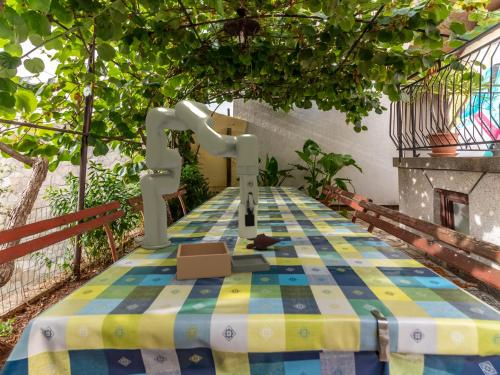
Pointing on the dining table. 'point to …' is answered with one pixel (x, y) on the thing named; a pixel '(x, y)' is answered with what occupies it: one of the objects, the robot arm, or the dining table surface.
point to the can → (242, 229)
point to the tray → (249, 263)
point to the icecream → (262, 242)
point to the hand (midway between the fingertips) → (248, 224)
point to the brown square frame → (203, 260)
